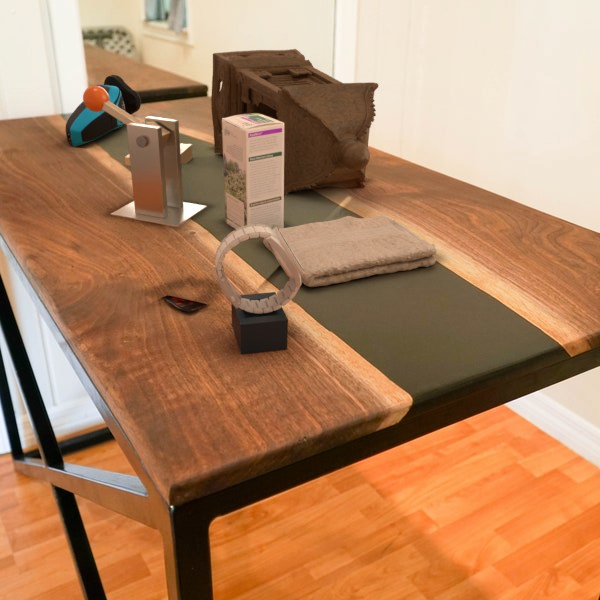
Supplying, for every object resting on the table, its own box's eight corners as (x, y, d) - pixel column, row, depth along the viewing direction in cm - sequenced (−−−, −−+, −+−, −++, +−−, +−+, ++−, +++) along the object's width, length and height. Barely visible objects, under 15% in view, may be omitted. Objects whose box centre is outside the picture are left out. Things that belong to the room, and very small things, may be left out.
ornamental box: (400, 224, 96) (431, 94, 88) (293, 227, 87) (317, 84, 79) (292, 154, 122) (308, 50, 114) (202, 151, 114) (213, 39, 106)
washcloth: (441, 266, 77) (445, 242, 76) (305, 294, 70) (306, 268, 69) (386, 230, 87) (389, 208, 85) (261, 251, 79) (261, 228, 78)
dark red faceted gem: (192, 315, 65) (192, 311, 65) (153, 302, 67) (152, 297, 67) (220, 297, 69) (220, 293, 69) (182, 284, 71) (182, 280, 71)
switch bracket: (111, 222, 86) (99, 124, 80) (144, 203, 93) (136, 111, 87) (177, 234, 83) (171, 134, 77) (207, 214, 90) (203, 119, 84)
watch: (307, 346, 61) (312, 237, 56) (221, 356, 59) (217, 244, 54) (293, 317, 66) (296, 214, 61) (213, 325, 64) (209, 219, 59)
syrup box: (285, 234, 84) (287, 120, 77) (245, 244, 81) (244, 126, 74) (261, 220, 88) (261, 111, 81) (223, 229, 85) (220, 116, 78)
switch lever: (75, 105, 83) (80, 83, 81) (90, 101, 86) (96, 78, 84) (152, 156, 82) (160, 134, 80) (165, 149, 85) (173, 128, 83)
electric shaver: (103, 114, 137) (149, 118, 136) (43, 159, 116) (96, 165, 115) (97, 71, 132) (145, 75, 131) (33, 111, 112) (88, 116, 110)
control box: (148, 154, 114) (146, 131, 112) (193, 157, 113) (191, 134, 111) (125, 171, 105) (123, 146, 103) (173, 175, 104) (172, 150, 102)
